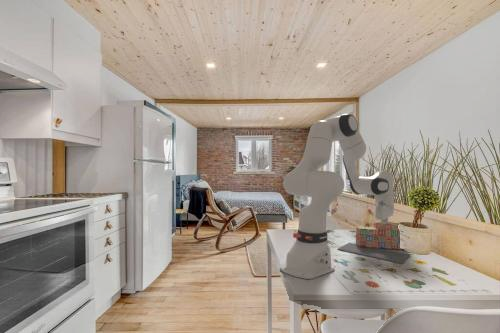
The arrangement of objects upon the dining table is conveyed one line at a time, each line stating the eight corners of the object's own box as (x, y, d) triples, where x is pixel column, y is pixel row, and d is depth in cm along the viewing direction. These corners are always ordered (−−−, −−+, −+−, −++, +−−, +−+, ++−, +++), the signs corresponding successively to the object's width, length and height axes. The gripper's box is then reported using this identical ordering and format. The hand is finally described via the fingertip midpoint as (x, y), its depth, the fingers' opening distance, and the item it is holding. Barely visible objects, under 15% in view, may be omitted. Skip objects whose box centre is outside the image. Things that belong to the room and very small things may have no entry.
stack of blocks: (359, 247, 124) (359, 222, 125) (355, 244, 131) (355, 220, 131) (404, 249, 122) (404, 224, 123) (398, 246, 129) (398, 222, 129)
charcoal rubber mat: (402, 264, 103) (402, 262, 103) (337, 249, 123) (337, 248, 123) (409, 255, 114) (409, 254, 114) (349, 243, 134) (349, 242, 134)
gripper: (385, 202, 124) (385, 230, 124) (395, 199, 139) (396, 224, 139) (371, 201, 129) (372, 228, 128) (383, 198, 144) (383, 222, 143)
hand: (384, 226), depth 134 cm, fingers closed
